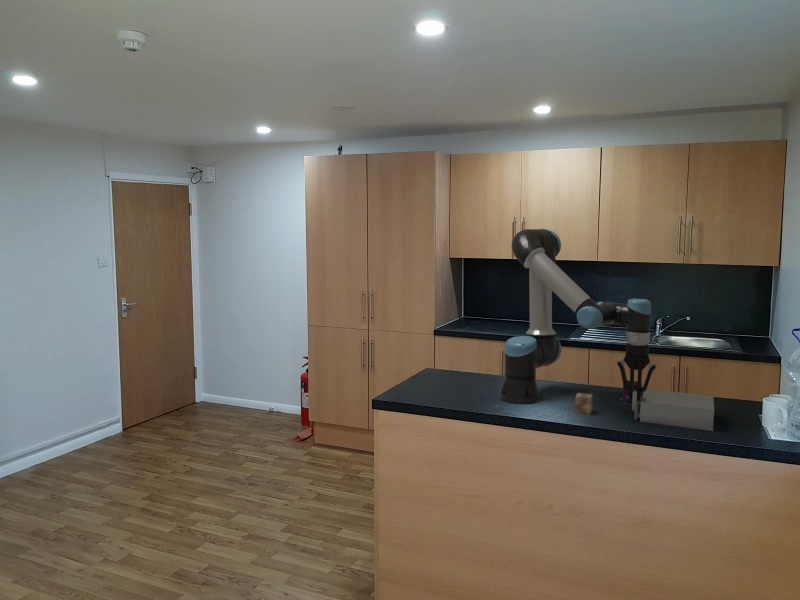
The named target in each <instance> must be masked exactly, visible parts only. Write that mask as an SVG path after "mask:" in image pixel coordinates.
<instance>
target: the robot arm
mask: <svg viewBox="0 0 800 600" xmlns="http://www.w3.org/2000/svg"><path fill="white" fill-rule="evenodd" d="M561 248H562V242H561V239H560V236H559V234H557V233H556V232H555V231H553V230H552V229H551V230H550V229H546V228H534V229H531V228H526V229H522V230H520V231H518V232H517V233H516V234H515V235H514V236H513V239H512V240H511V251H512V254H513V255H514V257H515V259H516V260H517V261H518V262H519V263H520V264H521V265H522V267H524V268H525V269H529V272H528V273H529V275H528V276H529V278H528V279H529V281H528V282H529V328H528V330H527V331H525V335H521V336H513V337H511V338H509V339H507V340H506V341H505V347H504V379H503V382H502V385H501V388H500V390H499V398H500V399H501V400H502V401H505V402H508V403H511V404H521V405H522V404H526V405H527V404H533V403H537V402H539V401H540V400H541V393H540V390H539V386H538V383H537V382H538V381H537V380H536V379H537V378H536V377H537V375H536V373H537V369H538V368H542V367H549V366H550V365H553V364H554V363H556V362H557V361H558V360H559V358H560V357H561V354H562V344H561V341H559V339H558V338H557V332H556V331H555V330H554V329H553V317H552V316H553V314H552V313H553V309H552V307H553V303H552V302H553V293H554V294H555V295H557V297H558V298H559V299H560V300H561V301H562V302H563V303H564V304H565V305H566V306H567V307H569V309H570V310H571V311H572V312H573V313H575V315H576V320H577V323H578V325H579V326H580V327H582V328H584V329H596V328H600V327H604V326H609V325H622V326H626V336H625V337H626V338H625V341H626V344H625V355H624V357H623V359H622V360H618V361H617V364H616V365H617V366H618V368H619V370H620V375H621V380H622V386H623V385H624V388H625V389H627V390H629V400H632V402H631V411H634V409H635V406H636V403H637V401H640V399H641V392H642V393H643V392H644V391H646V389H648V386H649V383H650V381H651V378H652V377H651V376H652V374H653V371H655V370H656V368H657V364H656V363H653V362H651V359H650V357H649V355H650V353H649V352H650V345H649V343H650V335H651V332H650V331H651V315H652V305H651V304H652V303H651V301H650V300H648V299H643V298H630V299H628V300H627V303H620V302H619V303H618V302H610V301H598V302H596V301H594V300H593V298H591V297H590V295H588V294H587V293H586V292H585V291H584V290H583V289H582V288H581V287H580V286H579V285H577V283H576V282H575V281H574V280H573V279H571V278H570V276H568V275H567V274H566V273H565V272H564V270H562V269H561V268H560V267H559V265H557V264H556V262H557V260H556V258H557V257H558V254H560V252H561V250H562V249H561ZM625 365H626V366H627V367H628V369H629V381H630V386H629V385H628V382H627V381H628V379H627V377H628V376H627V373H626V367H625ZM646 367H647V368H648V372H647V375H646V377H645V380H644V383H642V382H643V380H642V379H643V370H644V369H645V368H646ZM635 370H636V371H637V391H636V390H634V381H635V373H636V372H635ZM641 384H642V387H641Z"/></svg>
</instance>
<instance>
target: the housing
mask: <svg viewBox="0 0 800 600" xmlns="http://www.w3.org/2000/svg"><path fill="white" fill-rule="evenodd" d="M642 393H643V394H642V399H641V407H640V417H639V422H641V423H648V424H655V425H656V424H657V425H663V426H671V427H679V428H687V429H694V430H703V431H710V432H713V431H714V422H715V421H714V420H715V419H714V418H715V403H714V396H713V395H706V394H697V393H687V392H678V391H669V390H668V391H667V390H660V389H658V390H657V389H649V388H647V389H646V391H643V392H642Z"/></svg>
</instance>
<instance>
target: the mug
mask: <svg viewBox="0 0 800 600" xmlns="http://www.w3.org/2000/svg"><path fill="white" fill-rule="evenodd" d="M627 382H628V385H629V386H630V380H627ZM641 387H643V383H642V384H641ZM634 390H636V391H637V381H636V380H634ZM642 393H643V391H642V392H641V397H642V396H643V394H642ZM622 401H624V402H626V401H628V402H627V403H632V400H629V390H627V389H625V388H624V385H623V384H622Z"/></svg>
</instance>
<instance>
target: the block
mask: <svg viewBox="0 0 800 600" xmlns="http://www.w3.org/2000/svg"><path fill="white" fill-rule="evenodd" d="M574 405H575V406H574V413H575V414H583V415H589V416H590V414H591V413H592V411H593V393H592V394H591V393H582V392H577V394H576V395H575V403H574Z"/></svg>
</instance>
